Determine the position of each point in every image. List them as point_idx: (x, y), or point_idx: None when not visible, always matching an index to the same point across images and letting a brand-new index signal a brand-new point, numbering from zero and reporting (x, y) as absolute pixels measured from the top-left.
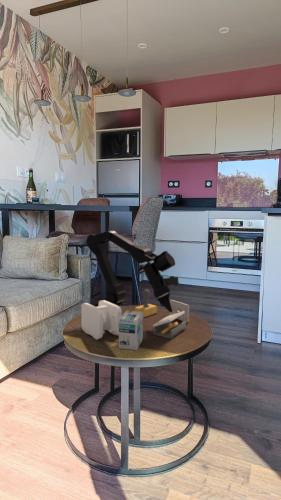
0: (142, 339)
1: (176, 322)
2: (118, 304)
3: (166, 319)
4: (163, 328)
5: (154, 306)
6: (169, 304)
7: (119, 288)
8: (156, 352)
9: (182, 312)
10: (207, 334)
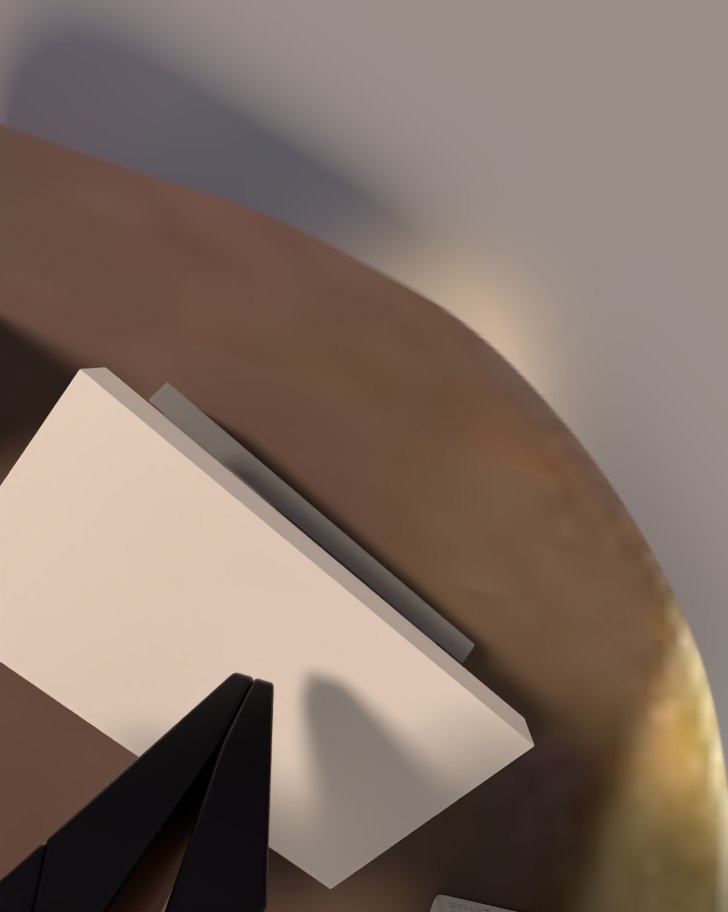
0: (448, 901)
1: None
2: None
3: (356, 740)
4: None
5: None
6: (264, 891)
7: None
8: (658, 779)
9: (159, 428)
10: (373, 270)
